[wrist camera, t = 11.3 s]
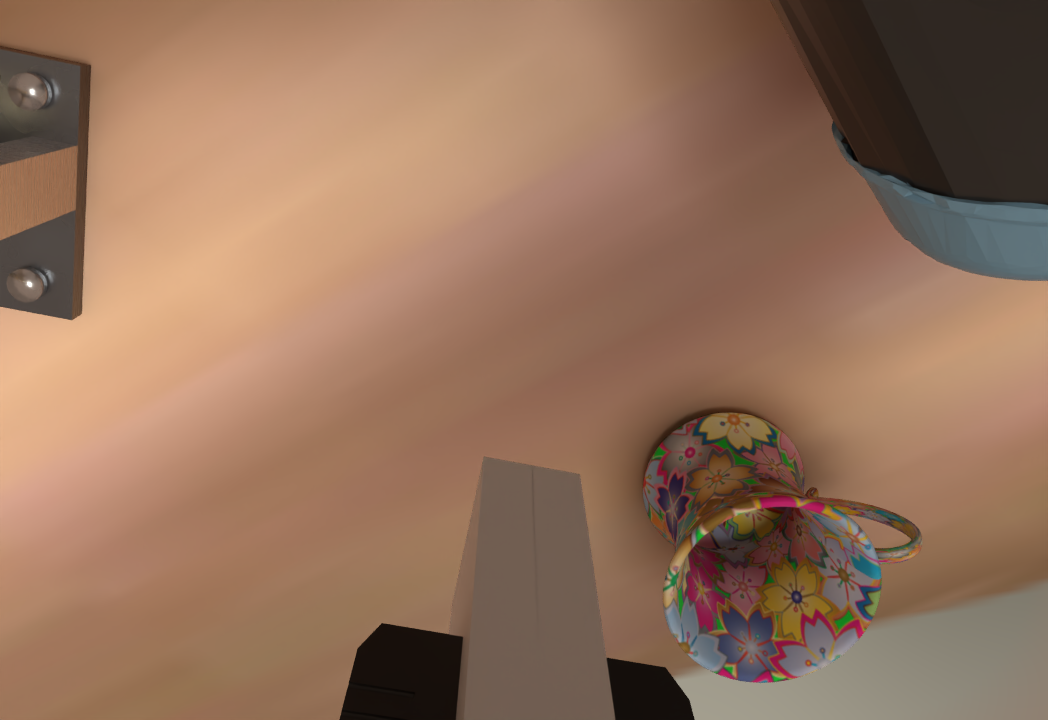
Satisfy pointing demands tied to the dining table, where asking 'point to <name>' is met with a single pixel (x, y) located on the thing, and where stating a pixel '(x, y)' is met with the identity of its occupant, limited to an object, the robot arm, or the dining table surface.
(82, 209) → the hole plate
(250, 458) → the dining table surface
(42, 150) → the dividers bar
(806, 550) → the mug
